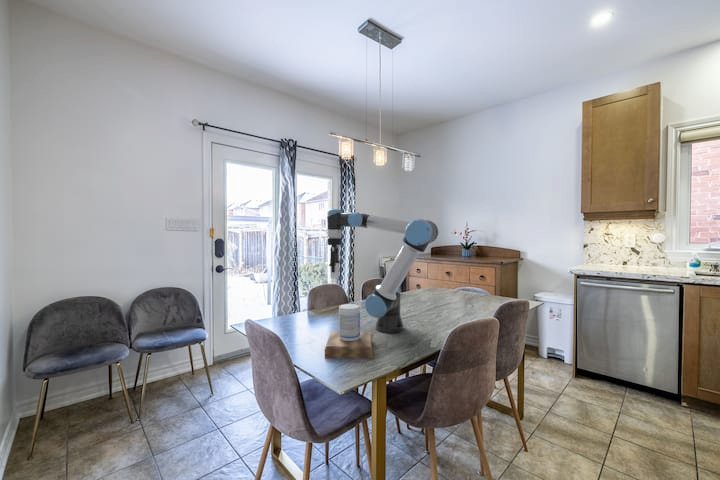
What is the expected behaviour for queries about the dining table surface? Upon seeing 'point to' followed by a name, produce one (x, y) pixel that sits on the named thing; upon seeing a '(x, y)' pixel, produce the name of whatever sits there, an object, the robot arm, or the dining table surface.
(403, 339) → the dining table surface
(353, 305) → the supplement tub
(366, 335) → the wooden square block
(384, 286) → the robot arm
